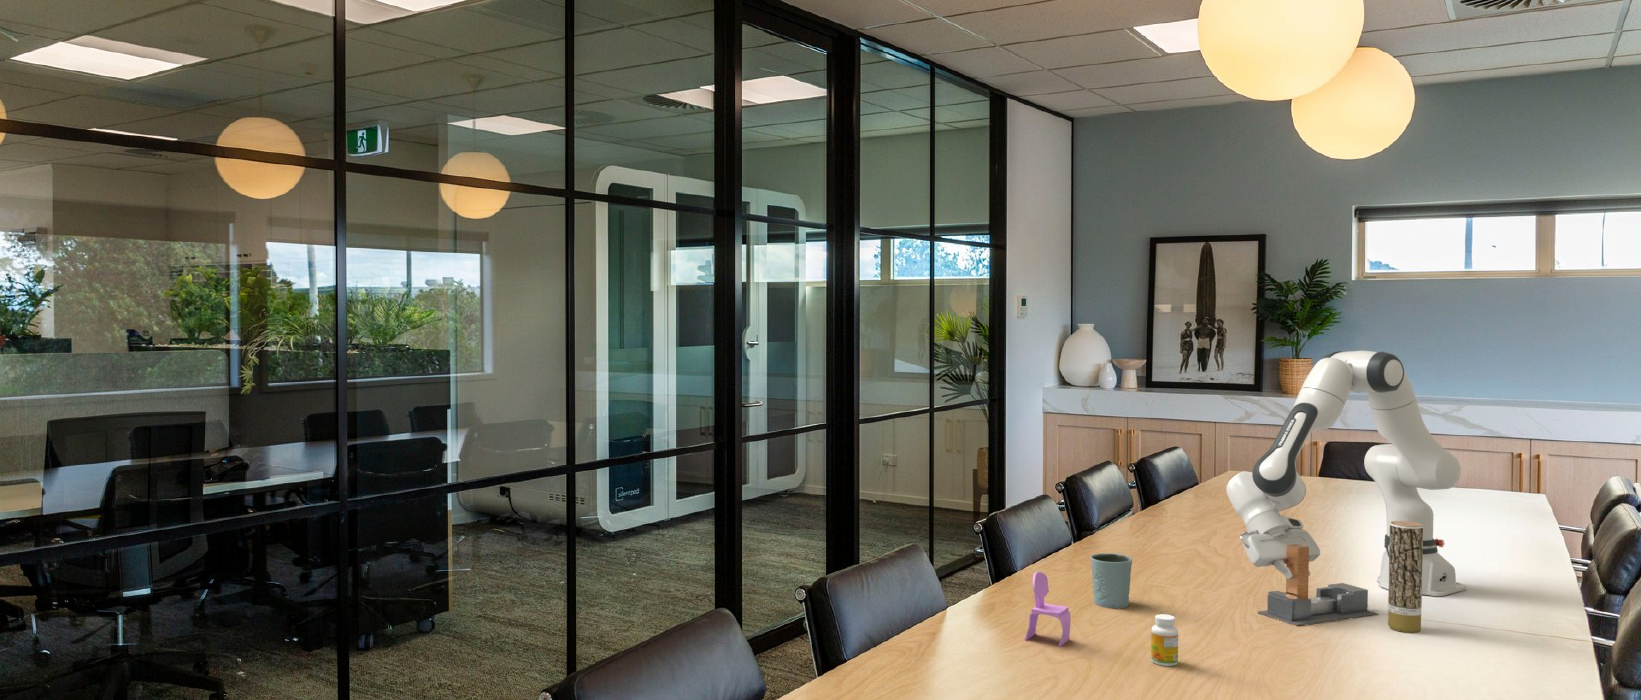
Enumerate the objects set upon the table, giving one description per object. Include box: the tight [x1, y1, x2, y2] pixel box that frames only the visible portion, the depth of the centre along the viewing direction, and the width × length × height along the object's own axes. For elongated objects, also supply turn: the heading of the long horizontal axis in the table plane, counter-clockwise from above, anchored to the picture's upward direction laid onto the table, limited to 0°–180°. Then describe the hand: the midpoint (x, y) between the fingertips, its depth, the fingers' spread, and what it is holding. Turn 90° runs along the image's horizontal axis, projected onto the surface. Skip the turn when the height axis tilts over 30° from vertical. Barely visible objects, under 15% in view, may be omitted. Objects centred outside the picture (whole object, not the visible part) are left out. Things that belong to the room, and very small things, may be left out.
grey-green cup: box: [1090, 552, 1133, 609], centre depth 263 cm, size 10×10×12 cm
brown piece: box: [1285, 544, 1337, 615], centre depth 253 cm, size 15×4×17 cm, turn 112°
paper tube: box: [1387, 521, 1423, 634], centre depth 242 cm, size 7×7×25 cm
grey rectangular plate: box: [1257, 609, 1379, 627], centre depth 255 cm, size 27×12×1 cm, turn 112°
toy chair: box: [1024, 571, 1071, 648], centre depth 232 cm, size 8×9×15 cm
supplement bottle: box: [1150, 613, 1179, 667], centre depth 217 cm, size 5×5×10 cm
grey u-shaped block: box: [1315, 582, 1369, 615], centre depth 258 cm, size 9×7×5 cm
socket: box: [1267, 590, 1311, 622], centre depth 251 cm, size 6×7×5 cm
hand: (1299, 577), depth 251 cm, fingers closed on brown piece, 3 cm apart
